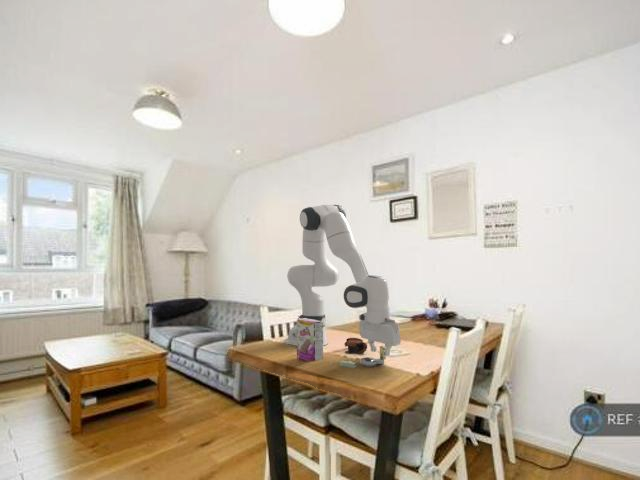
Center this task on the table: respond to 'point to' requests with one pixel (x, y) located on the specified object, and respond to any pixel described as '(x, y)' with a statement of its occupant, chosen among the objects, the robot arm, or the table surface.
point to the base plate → (348, 364)
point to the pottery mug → (355, 346)
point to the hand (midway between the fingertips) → (379, 353)
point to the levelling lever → (371, 361)
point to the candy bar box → (309, 339)
